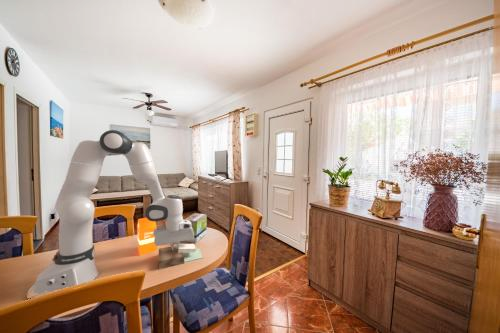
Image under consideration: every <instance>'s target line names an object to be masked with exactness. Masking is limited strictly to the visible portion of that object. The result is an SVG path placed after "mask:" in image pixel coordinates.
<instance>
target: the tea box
mask: <svg viewBox="0 0 500 333" xmlns="http://www.w3.org/2000/svg"><path fill="white" fill-rule="evenodd" d="M207 216H208V215H207V214H205V213H196V212H195V213H192V214H191V215H189V216H187V217H186V218H185V219H184V218H183V220H189V221H190V222H191V224H192V228H193V232H194V238H193V239H191V240H185V241H184V242H186V243H192V244H195V243H196V244H197V243H198V242H199V241H200V240H202V238H203V237H204V236H205V235H207V226H208V225H207V223H208V222H207V219H208V217H207Z"/></svg>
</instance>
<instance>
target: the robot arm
mask: <svg viewBox="0 0 500 333" xmlns="http://www.w3.org/2000/svg"><path fill="white" fill-rule="evenodd" d="M76 146H77V147H76V148H75V150H74V152H73V155H72V156H71V160H70V162H69V166H68V170H67V173H66V176H65V179H64V183H63V184H62V186H61V189H60V191H59V194H58V197H57V199H56V202H55V206H54V207H55V209H54V210H55V211H56V212H57V215H58V217H59V230H58V245H59V246H58V247H59V249H58V250H57V251H56V252H55V254H54V255H53V257H52V258H51V259H52V263H51V264H50V265H48V266H47V267H46V268H44V269H43V270H42V271H41V272H40V273H39V274H38V276H37V277H36V280H35V283H33V285H31V287H30V288H29V289H28V291H27V293H28V292H31V291H34V292H33V293H38V294H37V295H34V296H31V297H29V299H28V300H31V299H30V298H32V299H34V298H33V297H36V296H39V295H43V294H46V293H49V292H53V291H55V290H59V289H63V288H66V287H71V286H74V285H78V284H81V283H84V282H88V281H91V282H92V281H94V280H95V279H96V278H97V277H98V276H99V270H98V268H97V265H96V262H95V261H96V260H95V256H96V253H95V252H96V251H95V246H94V244H93V242H94V241H93V225H94V219H95V212H96V211H95V210H96V208H95V203H94V202H93V201H92V199H91V196H92V193H93V192H94V190H95V188H96V186H97V184H98V183H99V179H100V175H101V171H102V169H103V168H102V167H103V164H104V160H105V158H106V157H107V156H110V157H111V156H121V155H122V156H124V157H125V158H126V159H127V162H128V165H129V166H128V167H129V169H130V171H131V173H132V175H133V177H134V180H137V181H139V182H141V183H144V185H146V187H147V188H148V190H149V193H150V195H151V198H152V203H150V204H149V205H148V206H147V207H145V208H146V209H145V210H144V216H145V218H147V219H148V220H149V221H152V222H161V221H165V226H160V227H159V226H158V227H157V226H156V229H154V230H153V235H154V236H155V237H154V245H155V246H157V247H158V246H162V245H169V247H170V246H171V247H172V250H177V249H178V246H179V244H181V242H186V241H185V240H191V239H193V238H194V232H193V228H192V224H191V222H190V221H189V220H184V217H183V211H184V208H183V207H184V206H183V200H182V197H180V196H179V195H175V194H169V195H167V196H166V195H165V193H164V190H163V188H162V187H163V186H162V185H161V182H160V180H159V177H158V173H157V170H156V165H155V162H154V158H153V156H152V153H151V151H150V148H148V146H147V144H145V143H144V142H133V141H132V140H131V139H130V138H128V136H127V135H126V134H124V133H123V132H121V131H120V130H116V129H115V130H114V129H112V130H111V129H109V130H105V131H104V132H103V133H102V134H101V135H100V137H99V140H98V141H97V140H96V141H95V140H83V141H80V142H79V143H78V145H76ZM175 242H177V243H175ZM174 244H176V245H174ZM95 277H96V278H95ZM45 291H47V292H45ZM43 292H44V293H43ZM27 293H26V294H27Z"/></svg>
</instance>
